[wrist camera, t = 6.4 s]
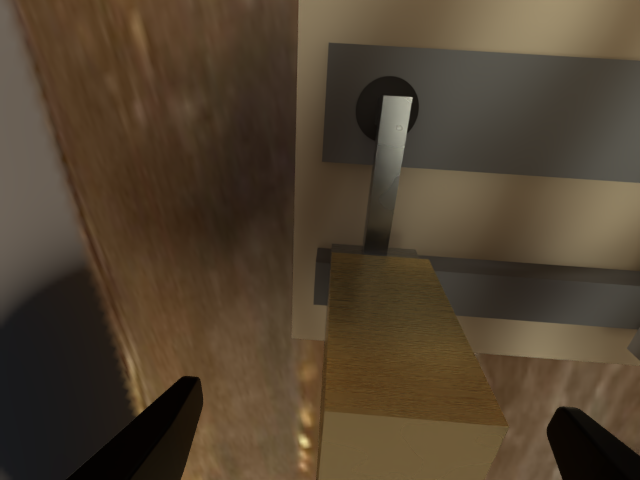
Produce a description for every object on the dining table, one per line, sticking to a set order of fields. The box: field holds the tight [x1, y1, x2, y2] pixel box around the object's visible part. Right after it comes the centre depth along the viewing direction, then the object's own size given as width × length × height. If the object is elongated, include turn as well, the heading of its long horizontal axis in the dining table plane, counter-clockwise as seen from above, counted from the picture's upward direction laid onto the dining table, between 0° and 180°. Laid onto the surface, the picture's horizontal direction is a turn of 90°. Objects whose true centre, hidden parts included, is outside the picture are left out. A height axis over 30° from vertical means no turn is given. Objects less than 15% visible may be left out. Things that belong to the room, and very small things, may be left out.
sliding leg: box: [316, 94, 509, 480], centre depth 9 cm, size 3×10×8 cm, turn 177°
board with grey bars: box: [292, 0, 640, 366], centre depth 12 cm, size 18×14×4 cm
